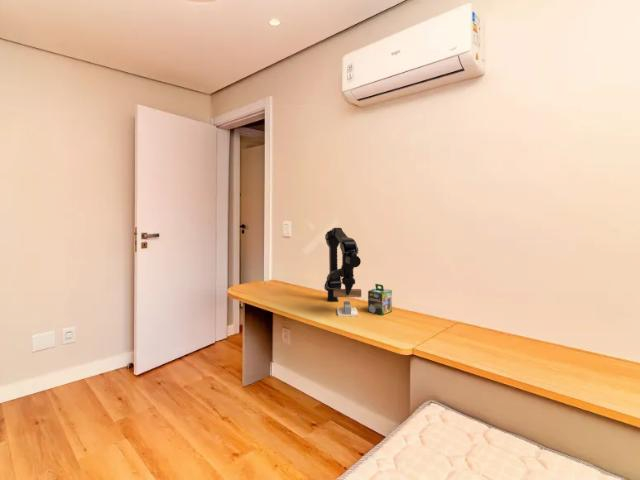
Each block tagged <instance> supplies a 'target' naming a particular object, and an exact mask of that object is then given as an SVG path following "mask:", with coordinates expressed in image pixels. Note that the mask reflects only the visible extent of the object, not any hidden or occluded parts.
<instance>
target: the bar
mask: <svg viewBox="0 0 640 480" xmlns="http://www.w3.org/2000/svg"><path fill="white" fill-rule="evenodd" d="M334 297H337V298H362V289H361V288H352V289H351V291H350V293H349V295H346V289H345V288H341V289H334Z"/></svg>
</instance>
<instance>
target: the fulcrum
mask: <svg viewBox="0 0 640 480" xmlns="http://www.w3.org/2000/svg"><path fill="white" fill-rule="evenodd" d="M350 302H351V301H350V300H343V306H341V307H339V306H338V307H337V308H336V311H337V317H359V313H358V309H357V307H352V305H351V303H350Z"/></svg>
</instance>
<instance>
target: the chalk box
mask: <svg viewBox="0 0 640 480" xmlns="http://www.w3.org/2000/svg"><path fill="white" fill-rule="evenodd" d="M374 286H375V288H372V289H370V290H368V291H367V307H368V308H367V312H368V313H373V314H376V315H380V316H384V315H387V314H389V313H392V311H393V301H392V300H393V299H392V298H393V290H392V289H387V288H384V285H383V284H380V283H375V285H374Z"/></svg>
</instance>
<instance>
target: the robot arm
mask: <svg viewBox="0 0 640 480" xmlns="http://www.w3.org/2000/svg"><path fill="white" fill-rule="evenodd" d="M324 236H325V237H324V239H325V243H326V245H327V247H328V250H329V253H328V255H329V257H328V258H329V259H328V261H329V262H328V263H329V269H328V270H329V273H328V274H327V276H326V281H325V283H324V285H323V287H324V290H325V291H326V292H327V297H326V302H339V297H334V289H342V285H344V289H346V295H349V293H350V291H351V289H353V287H354V285H356V279H355V276H354V269H355V268H358V267H359V266H360V265H361V263H362V261H361V258H360V257H359V256H358V254H359V247H358V245H357V242H356V240H355V239H354V238H352V237H349V236H348V235H347V234H346V232H344V231H343V228H342V227H333V228H332V229H330V230H328V231H326V233H325V235H324ZM338 247H339V249H340V250H341V255H342V257H341V260H342V263H341V267H340V268H338Z"/></svg>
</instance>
